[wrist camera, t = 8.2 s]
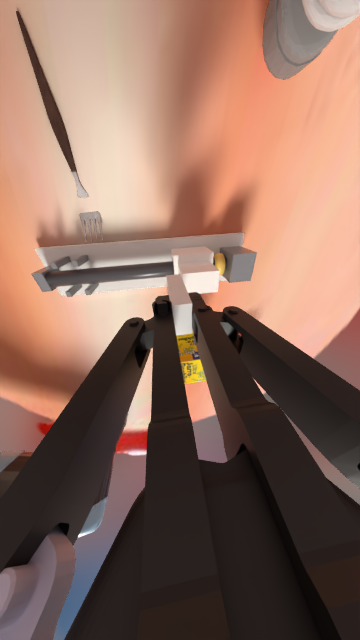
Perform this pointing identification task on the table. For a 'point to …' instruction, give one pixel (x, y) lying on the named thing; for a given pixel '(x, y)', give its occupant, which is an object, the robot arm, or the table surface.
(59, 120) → the fork
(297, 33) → the light bulb
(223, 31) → the table surface
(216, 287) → the notched white block
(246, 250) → the slider rig
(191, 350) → the supplement box
